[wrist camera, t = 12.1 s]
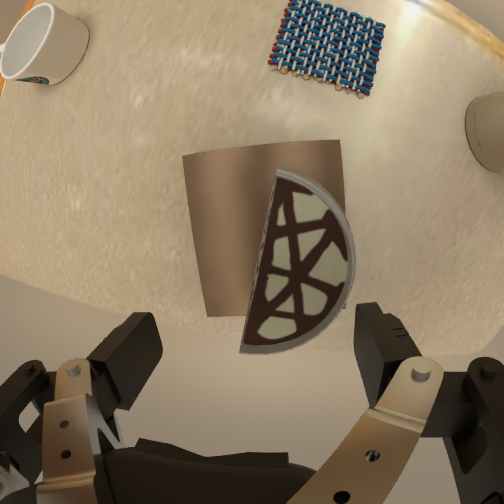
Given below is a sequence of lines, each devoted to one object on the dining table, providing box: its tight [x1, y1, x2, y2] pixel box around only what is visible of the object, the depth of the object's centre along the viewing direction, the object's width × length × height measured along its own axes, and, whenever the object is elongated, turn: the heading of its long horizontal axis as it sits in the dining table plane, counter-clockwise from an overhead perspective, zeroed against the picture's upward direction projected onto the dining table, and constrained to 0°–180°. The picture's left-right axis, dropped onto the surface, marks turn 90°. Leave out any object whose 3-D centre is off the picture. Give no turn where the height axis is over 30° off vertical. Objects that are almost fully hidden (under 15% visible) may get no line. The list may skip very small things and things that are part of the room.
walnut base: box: [182, 140, 346, 317], centre depth 27 cm, size 14×16×3 cm
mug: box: [0, 3, 89, 85], centre depth 20 cm, size 13×10×8 cm
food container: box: [239, 164, 356, 355], centre depth 21 cm, size 12×6×10 cm, turn 169°
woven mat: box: [268, 0, 386, 98], centre depth 22 cm, size 10×11×2 cm
